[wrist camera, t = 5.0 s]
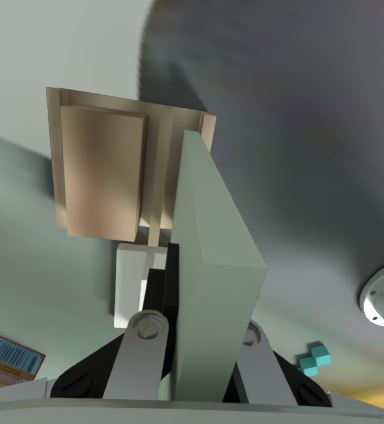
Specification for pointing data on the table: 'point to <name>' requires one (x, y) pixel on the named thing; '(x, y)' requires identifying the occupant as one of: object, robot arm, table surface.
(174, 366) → the sheet
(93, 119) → the offcut upper
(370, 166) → the table surface
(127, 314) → the stand
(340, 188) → the table surface
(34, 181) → the table surface
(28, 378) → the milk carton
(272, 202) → the table surface
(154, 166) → the rack
